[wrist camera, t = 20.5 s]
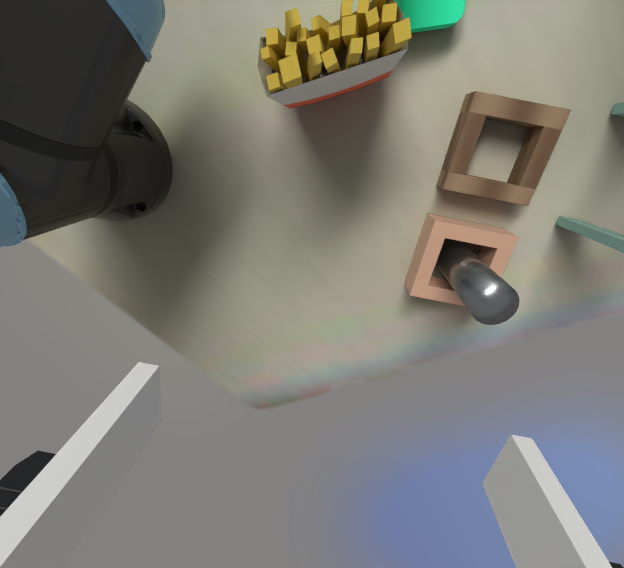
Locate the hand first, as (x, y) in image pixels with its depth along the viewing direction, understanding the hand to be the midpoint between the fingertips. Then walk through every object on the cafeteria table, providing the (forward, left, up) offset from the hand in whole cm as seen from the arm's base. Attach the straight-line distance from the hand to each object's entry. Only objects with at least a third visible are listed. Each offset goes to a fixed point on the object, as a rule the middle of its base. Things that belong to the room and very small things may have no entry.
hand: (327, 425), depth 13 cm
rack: (+16, -2, -35) cm, 38 cm away
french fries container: (-4, +16, -35) cm, 38 cm away
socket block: (+16, +11, -35) cm, 40 cm away
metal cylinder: (+16, -2, -35) cm, 38 cm away
